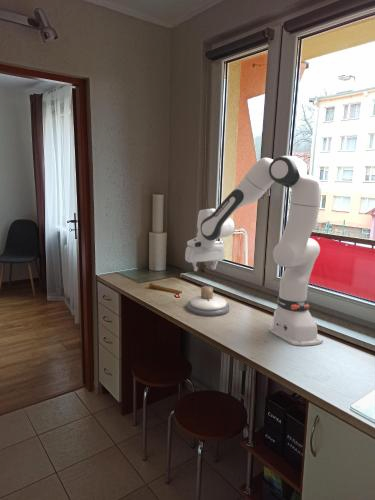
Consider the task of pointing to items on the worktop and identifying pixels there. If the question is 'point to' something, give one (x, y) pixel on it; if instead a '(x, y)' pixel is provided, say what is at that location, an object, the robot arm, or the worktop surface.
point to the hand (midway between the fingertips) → (204, 270)
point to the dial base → (208, 311)
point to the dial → (208, 300)
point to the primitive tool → (164, 289)
